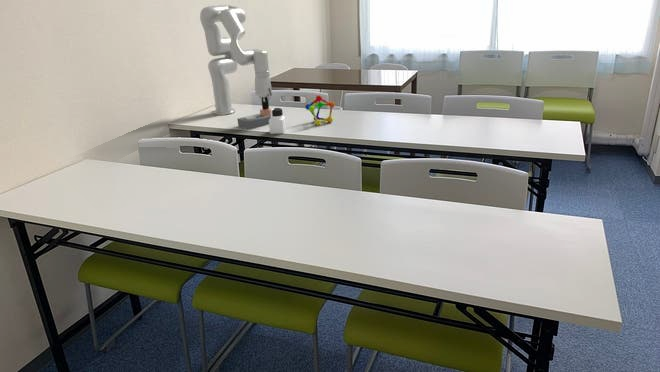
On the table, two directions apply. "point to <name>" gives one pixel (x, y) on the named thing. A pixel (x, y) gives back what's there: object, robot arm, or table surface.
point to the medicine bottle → (277, 121)
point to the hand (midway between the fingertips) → (265, 108)
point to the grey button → (250, 117)
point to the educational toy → (320, 104)
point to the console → (254, 121)
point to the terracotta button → (265, 112)
